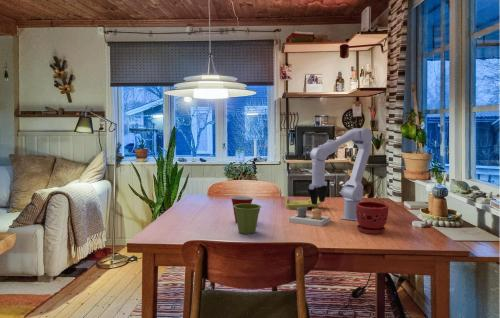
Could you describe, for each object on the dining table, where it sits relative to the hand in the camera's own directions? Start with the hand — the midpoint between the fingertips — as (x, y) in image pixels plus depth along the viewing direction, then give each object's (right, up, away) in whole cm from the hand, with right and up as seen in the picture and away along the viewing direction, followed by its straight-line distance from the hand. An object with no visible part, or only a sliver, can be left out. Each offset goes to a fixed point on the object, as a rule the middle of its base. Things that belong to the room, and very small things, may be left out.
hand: (318, 202), depth 197 cm
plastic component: (-2, -7, +35) cm, 35 cm away
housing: (-4, -9, +3) cm, 10 cm away
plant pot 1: (-33, -11, -17) cm, 38 cm away
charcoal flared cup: (-7, -9, +5) cm, 12 cm away
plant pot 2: (+20, -11, -16) cm, 28 cm away
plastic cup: (-35, -9, +2) cm, 37 cm away
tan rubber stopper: (0, -9, +1) cm, 9 cm away
